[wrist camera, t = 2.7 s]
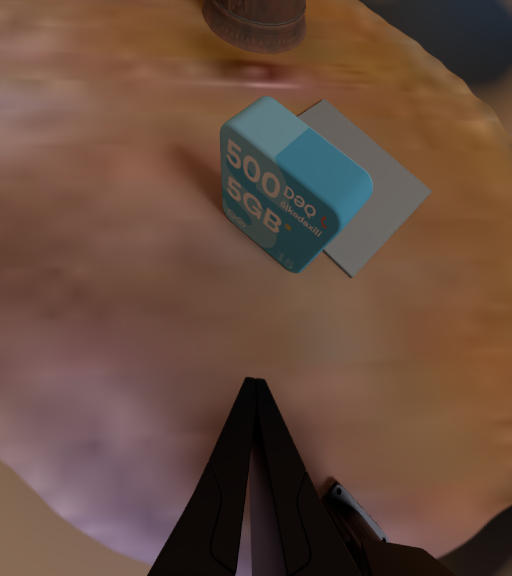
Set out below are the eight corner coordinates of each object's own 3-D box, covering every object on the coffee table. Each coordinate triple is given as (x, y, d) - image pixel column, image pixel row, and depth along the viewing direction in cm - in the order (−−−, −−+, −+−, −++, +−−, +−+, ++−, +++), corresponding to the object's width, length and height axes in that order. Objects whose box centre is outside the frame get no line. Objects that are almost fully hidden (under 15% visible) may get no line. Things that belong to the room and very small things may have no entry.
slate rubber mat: (429, 193, 31) (432, 191, 31) (351, 278, 26) (352, 277, 26) (323, 101, 34) (324, 98, 33) (230, 162, 28) (231, 159, 28)
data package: (222, 214, 26) (217, 112, 15) (246, 193, 27) (258, 84, 16) (295, 277, 25) (351, 221, 14) (316, 252, 26) (384, 182, 15)
